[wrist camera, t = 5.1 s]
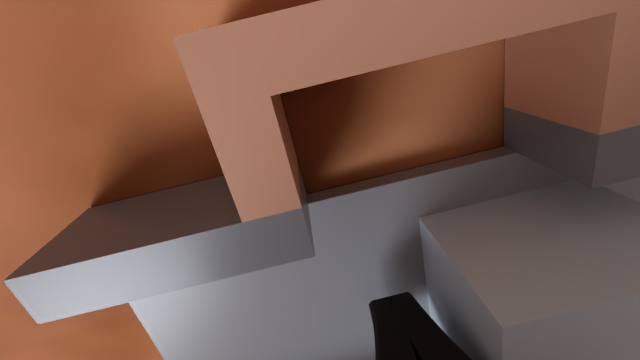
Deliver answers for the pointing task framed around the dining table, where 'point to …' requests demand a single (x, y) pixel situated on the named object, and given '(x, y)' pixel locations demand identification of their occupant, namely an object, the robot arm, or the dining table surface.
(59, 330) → the dining table surface
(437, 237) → the block
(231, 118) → the box
